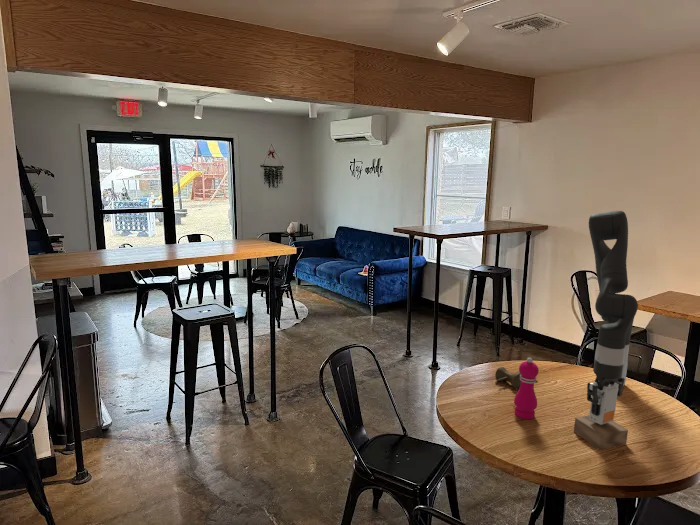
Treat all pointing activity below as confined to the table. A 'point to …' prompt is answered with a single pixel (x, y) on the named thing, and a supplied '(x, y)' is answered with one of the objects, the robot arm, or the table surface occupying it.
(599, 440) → the walnut block
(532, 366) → the pepper mill
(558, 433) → the table surface
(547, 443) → the table surface
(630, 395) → the table surface
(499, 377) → the kendama
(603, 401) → the skincare box
